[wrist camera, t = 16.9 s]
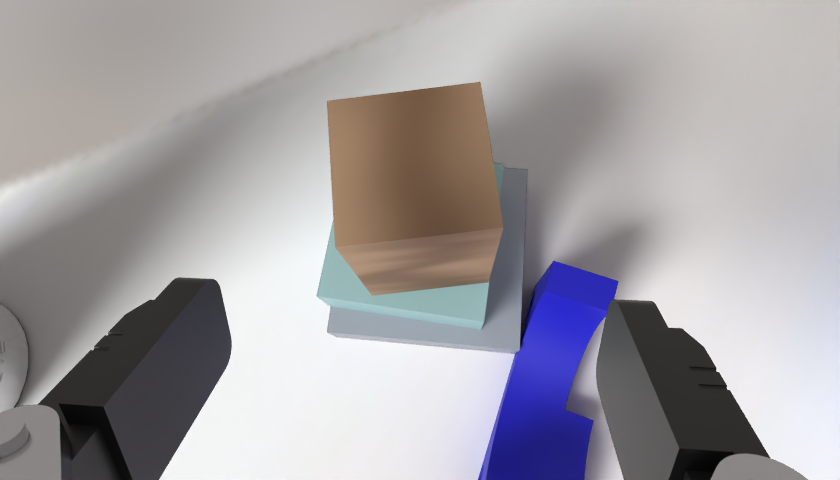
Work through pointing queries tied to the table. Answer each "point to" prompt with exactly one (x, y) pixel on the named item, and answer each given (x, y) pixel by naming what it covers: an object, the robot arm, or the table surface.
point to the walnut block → (414, 188)
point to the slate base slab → (501, 298)
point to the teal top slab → (424, 305)
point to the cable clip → (548, 381)
